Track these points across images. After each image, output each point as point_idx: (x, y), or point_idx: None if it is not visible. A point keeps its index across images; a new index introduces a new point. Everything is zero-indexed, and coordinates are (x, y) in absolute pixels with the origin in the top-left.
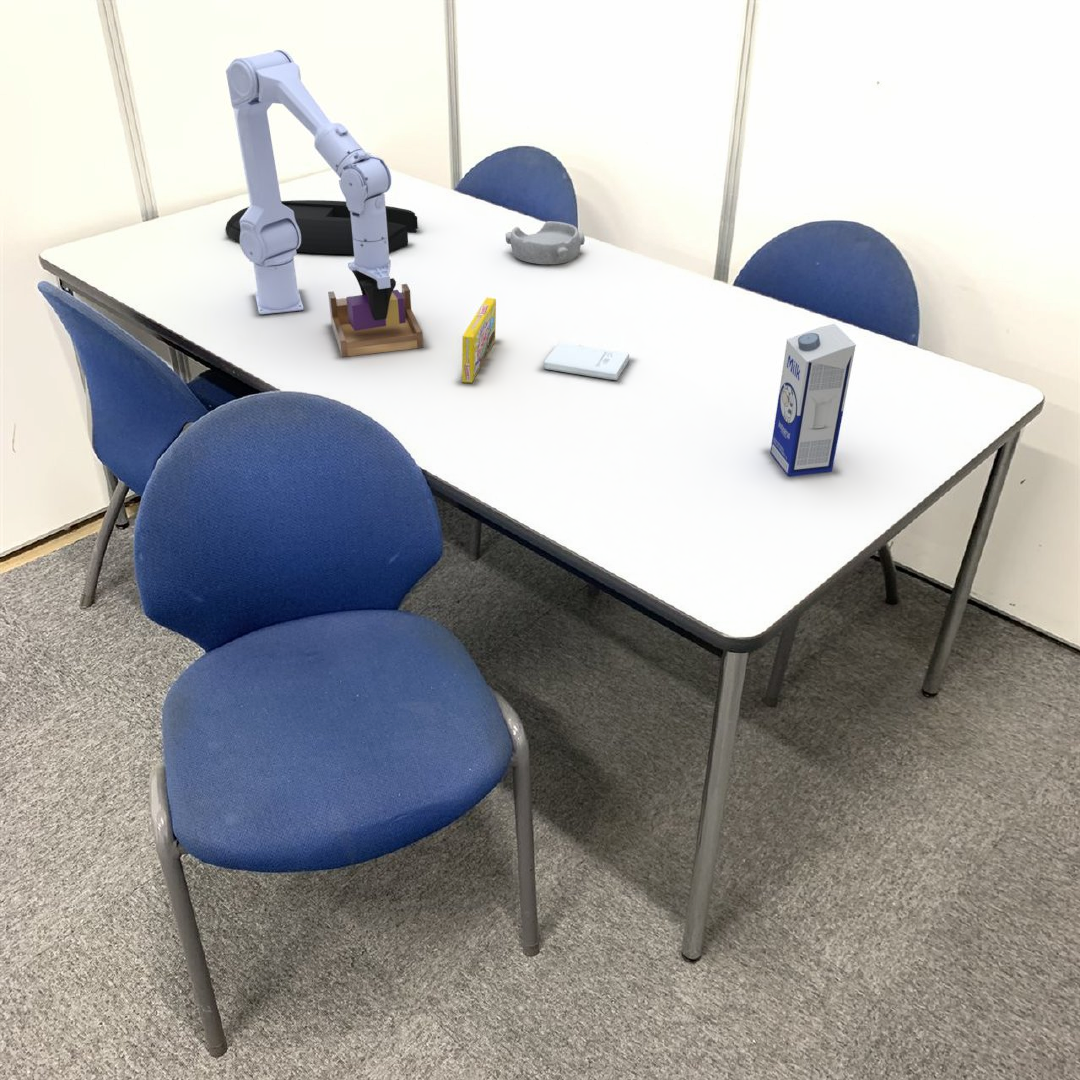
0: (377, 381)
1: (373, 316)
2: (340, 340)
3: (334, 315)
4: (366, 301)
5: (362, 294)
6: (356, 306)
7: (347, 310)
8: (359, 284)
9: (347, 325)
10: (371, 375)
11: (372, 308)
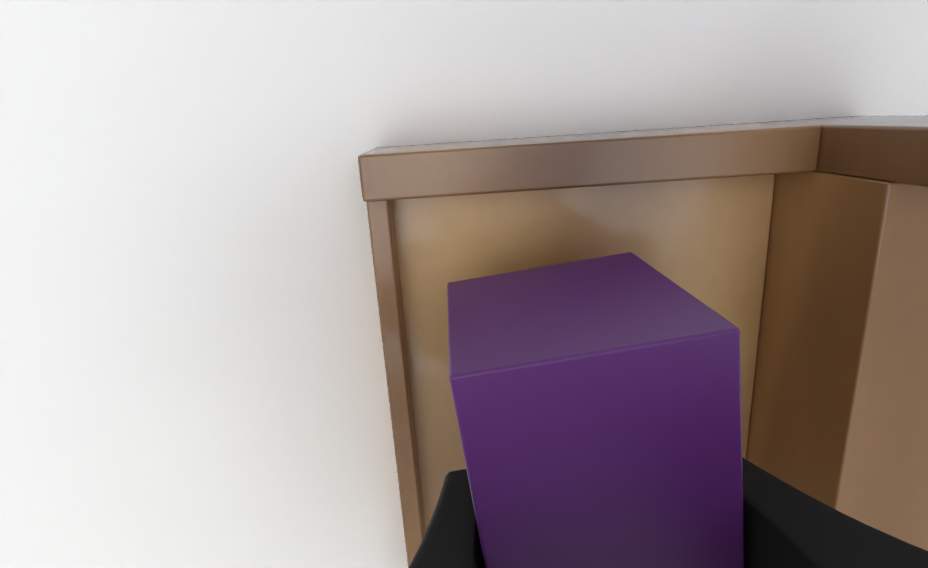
0: (27, 326)
1: (442, 487)
2: (363, 157)
3: (828, 145)
4: (541, 529)
5: (782, 492)
6: (457, 416)
7: (836, 259)
8: (877, 566)
9: (740, 224)
10: (107, 301)
11: (421, 547)
